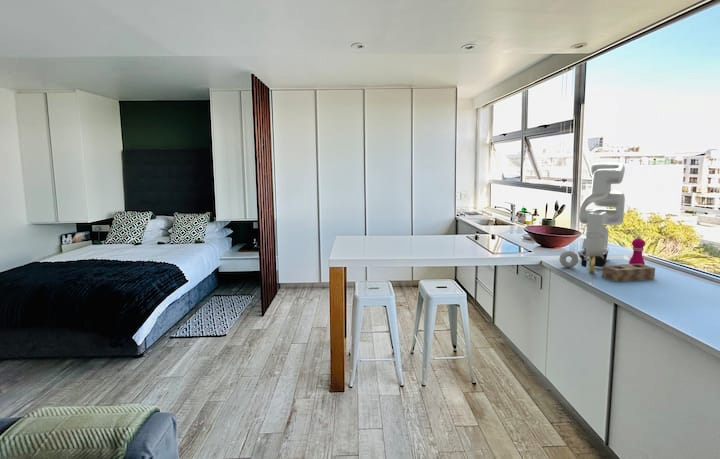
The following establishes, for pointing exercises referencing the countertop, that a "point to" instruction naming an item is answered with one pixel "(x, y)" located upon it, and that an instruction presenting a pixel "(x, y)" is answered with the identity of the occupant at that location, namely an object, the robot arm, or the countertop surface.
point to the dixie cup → (603, 261)
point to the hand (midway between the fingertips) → (591, 266)
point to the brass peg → (591, 264)
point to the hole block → (628, 272)
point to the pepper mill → (637, 251)
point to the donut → (572, 262)
